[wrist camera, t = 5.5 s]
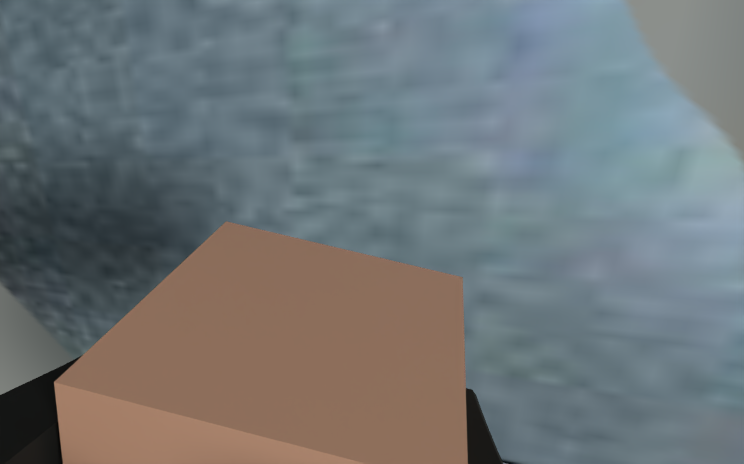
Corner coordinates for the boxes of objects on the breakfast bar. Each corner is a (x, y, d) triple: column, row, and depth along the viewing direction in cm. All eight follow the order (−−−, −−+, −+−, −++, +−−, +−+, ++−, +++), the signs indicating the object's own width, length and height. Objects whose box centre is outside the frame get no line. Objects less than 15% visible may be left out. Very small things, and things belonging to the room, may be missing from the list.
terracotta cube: (410, 451, 12) (383, 708, 8) (214, 401, 13) (79, 620, 8) (462, 277, 10) (468, 491, 6) (226, 221, 11) (53, 381, 6)
